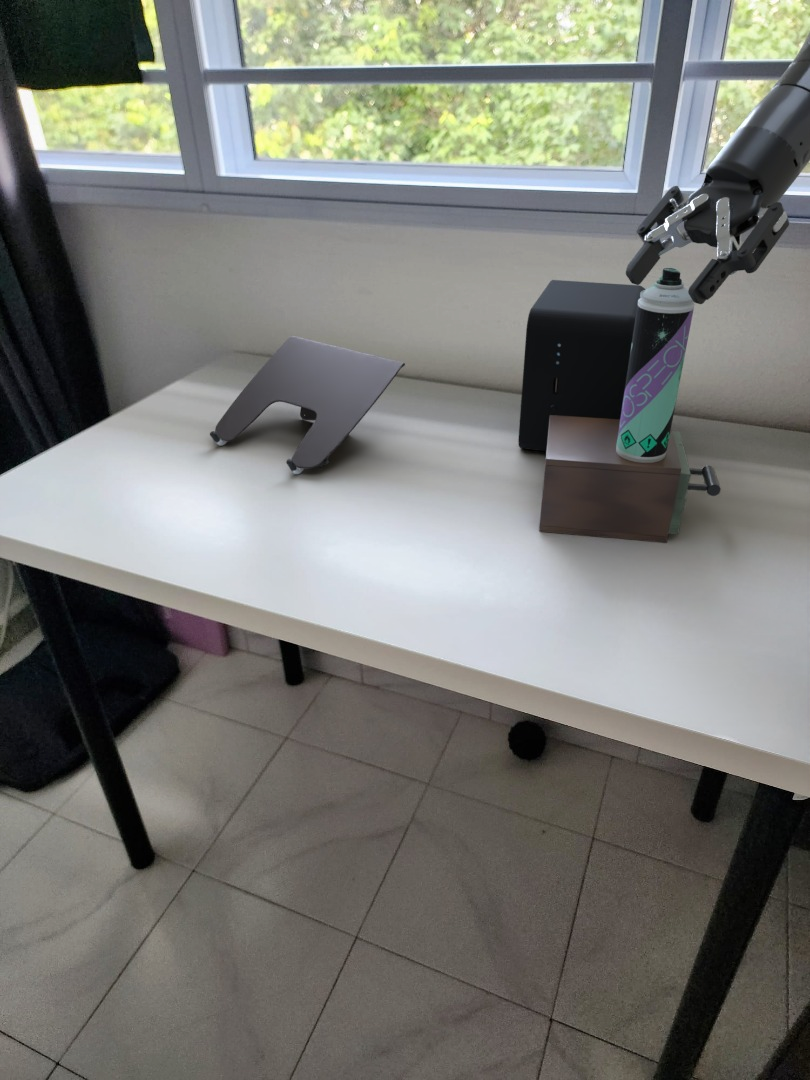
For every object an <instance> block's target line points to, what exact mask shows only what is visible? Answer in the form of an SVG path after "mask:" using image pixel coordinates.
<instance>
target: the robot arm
mask: <svg viewBox="0 0 810 1080" xmlns="http://www.w3.org/2000/svg"><path fill="white" fill-rule="evenodd" d="M809 163H810V30H809V31H808V34H807V36H806V38H805V39H804V42H803V44H802V46H801V47H800V49H799V51H798V52H797V54H796V56H794V58H793V60H792V62H791V63H790V64H789V66H788V67H787V69H786V70H785V71H784V72H783V74H782V75H781V76H780V77H779V78H778V80H777V81H776V82H775V84H774V85H773V86H772V88H771V89H770V91H768V93H767V94H766V95H765V96H764V97H763V98H762V99H761V100H760V101H759V102H758V103H757V104H756V105H755V106H754V107H753V108H752V109H751V111H750V112H749V113H748V114H747V115H746V117H745V118H744V119H743V121H742V123H741V124H740V125H739V127H737V129H736V130H735V131H734V133H733V134H732V135H731V136H730V137H729V139H728V140H727V142H726V143H725V144H724V146H723V147H722V148H721V150H720V151H719V152H718V153H717V155H716V156H715V157H714V158H713V159H712V161H711V163H710V164H709V165H708V167H707V169H706V173H705V176H704V179H703V183H702V185H701V186H700V187H699V188H698V189H696V190H695V191H694V192H692V193H691V194H689V193H688V194H687V193H684V192H682V191H681V189H680V187H679V186H678V185H673V186H671V187H670V188H669V189H668V190H667V191H666V192H665V193H664V195H663V196H662V198H661V199H660V200H659V201H658V202H657V203H656V205H655V206H654V207H653V208H652V209H651V210H650V212H649V213H648V214H647V215H646V217H645V218H644V219H643V220H642V222H641V223H640V224H639V225H638V226H637V227H636V231H635V232H636V233H637V235H638V236H639V238H640V239H641V241H642V243H643V244H642V245H641V247H640V248H639V249H638V251H637V252H636V254H634V256H633V257H632V258H631V260H630V261H629V263H628V264H627V265H626V269H625V275H626V277H627V278H628V280H629V281H630V283H631V284H632V285H641V284H642V283H643V281H644V280H645V278H646V277H647V276H648V275H649V273H650V272H651V271H652V270H653V268H654V267H655V266H656V265H657V263H658V262H659V260H660V259H661V256H663V255H664V254H666V253H668V252H669V251H671V250H672V249H674V248H684V247H685V246H687V245H689V244H690V243H693V244H694V243H695V244H707V245H708V246H710V247H712V248H716V257H717V258H716V259H715V258H710V261H709V262H708V263H707V264H706V266H704V268H703V270H702V271H701V272H700V273H699V275H698V276H697V277H696V278H695V279H694V281H693V282H692V284H691V285H690V286H689V288H688V289H687V290H688V293H689V295H690V297H691V298H692V300H693V302H694V304H698V305H703V304H704V303H705V302H706V301H709V300H710V299H711V298H712V297H713V296H714V295H715V294H716V292H717V291H718V290H719V289H720V287H721V286H722V285H723V283H724V282H725V281H726V280H727V278H728V277H730V276H731V275H734V274H736V273H737V272H740V271H744V272H745V273H746V274H753V273H755V272H757V270H758V269H759V268H760V267H761V265H762V264H763V262H764V261H765V259H766V258H767V257H768V255H769V254H770V252H771V251H772V249H773V248H774V247H775V245H776V244H777V243H778V242H779V240H780V239H781V237H782V236H783V234H784V233H785V232H786V230H787V229H788V227H790V220H789V219H788V214H787V212H786V210H785V208H784V206H783V204H782V202H780V200H781V198H782V197H783V196H784V195H785V193H786V192H787V191H788V190H789V188H790V187H791V186H792V184H793V183H795V181H796V180H797V178H798V177H799V176H800V174H801V173H802V172H803V170H804V169H805V168H806V167H807V166H808V164H809ZM681 223H683V228H684V231H685V232H681V231H680V229H679V227H678V226H679V224H681ZM655 224H656V227H655V228H653V227H654V225H655ZM652 228H653V230H652ZM751 229H752V230H751ZM749 230H751V231H750V233H749V234H748V235H747V237H746V239H745V240H744V241H743V242H742V240H743V239H742V238H743V237H742V236H743V235H744V233H746V232H748V231H749ZM668 235H670V237H668V238H666V239H665V240H662V241H661V239H662V238H664V237H666V236H668Z"/></svg>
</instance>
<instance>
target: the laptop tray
mask: <svg viewBox="0 0 810 1080" xmlns="http://www.w3.org/2000/svg"><path fill="white" fill-rule="evenodd" d="M405 365H406V362H402V361H398V360H394V359H390V358H386V357H382V356H378V355H374V354H370V353H365V352H361V351H358V350H353V349H349V348H345V347H341V346H337V345H333V344H328V343H324V342H320V341H316V340H311V339H308V338H304V337H299V336H296V335H290V336H288V338H287V339H286V341H284V342H283V344H282V345H281V346H280V347H279V348H278V349H277V350H276V351H275V352H274V353H273V354H272V356H271V357H270V358H269V359H268V360H267V361H266V362H265V364H264V365H263V366H262V367H261V368H260V369H259V371H258V372H257V373H256V374H255V375H254V376H253V378H252V379H250V381H249V382H248V383H247V385H246V386H245V387H244V388H243V389H242V390H241V392H240V393H239V395H237V397H236V398H235V400H233V402H232V403H231V405H230V406H229V407H228V409H227V410H226V411H225V413H223V415H222V417H221V418H220V419H219V421H218V422H217V424H216V425H215V428H214V430H212V431H210V432H209V436H210V437H211V439H212V440H213V441H214V443H216V445H217V446H220V447H221V446H225V445H226V444H227V443H229V442H232V441H234V440H235V439H236V438H238V437H239V436H240V435H241V434H242V433H243V432H244V431H245V430H246V429H247V428H249V427H250V425H252V423H254V422H255V421H256V420H257V419H258V417H260V416H261V415H262V414H263V413H264V411H266V410H267V409H268V408H269V407H270V406H272V405H273V404H275V403H279V402H280V403H286V404H289V405H293V406H295V407H299V408H300V412H299V415H300V418H301V419H302V420H304V421H314V422H313V423H312V424H311V426H310V427H309V428H308V431H307V432H306V434H305V435H304V437H303V438H302V439H301V441H300V442H299V444H298V446H297V448H296V450H295V451H294V453H293V454H292V456H291V458H288V459H287V460H286V461H285V462H286V465H287V466H288V467H289V469H290V471H291V472H292V473H293V474H295V475H299V474H301V473H302V472H303V471H304V470H305V469H315V468H317V467H318V468H322V467H323V466H325V465H328V464H329V462H330V461H329V458H330V455H332V453H334V452H335V450H336V449H337V448H338V447H339V446H340V445H341V444H342V442H343V441H344V440H345V439H346V438H347V437H348V436H349V435H350V433H352V431H353V430H354V429H355V428H356V426H357V425H358V424H359V423H360V422H361V420H363V418H364V417H365V416H366V414H367V413H368V412H369V411H370V410H371V408H372V407H373V406H374V405H375V404H376V402H377V401H378V400H379V399H380V397H381V396H382V394H384V392H385V391H386V390H387V388H388V387H389V385H390V384H391V383H392V382H393V380H394V379H395V377H396V376H397V375H398V373H399V372H400V370H402V368H404V367H405Z"/></svg>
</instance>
